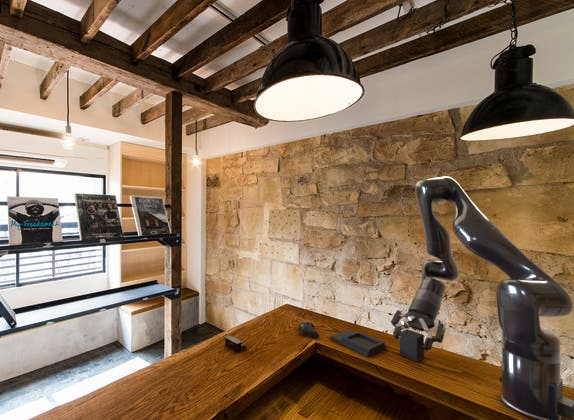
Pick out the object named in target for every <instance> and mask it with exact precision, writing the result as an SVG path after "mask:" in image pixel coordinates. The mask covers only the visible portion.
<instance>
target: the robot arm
mask: <svg viewBox="0 0 574 420" xmlns="http://www.w3.org/2000/svg"><path fill="white" fill-rule="evenodd" d="M414 195H415V200H416V203H417V208H418V212H419V214H420V218H421V222H422V225H423V230H424V237H425V238H424V239H425V250H426V254H427V255H428V256H431V257H434V258H437V259H439V260H437V259H426V260H424V261H423V262H422V264H421V281H420V284H419V286H418V289H417V291H416V293H415V294H414V296H413V298H412V301H411V303H410V305H409V307H408V310H407V312H406V313H404V312H402V311H401V310H400V309H398V310H396V311H395V313H394V315H393V316H392V318H391V320H390V323H391V325H392V326H393V327H394V330H393V332H392V335H393V338H394V339H395V340H400V332H401V331H404V330H406V329H409V328H411V329H413V330H417V331H418V332H421V333H422V332H425V334H426V336H427V337H425V339H424V345H423V348H424V351H425V352H428V351H431V350H432V348H433V344H434V343H438V344H442V343H443V340H444V337H445V333H446V327H445V325H444V324H443V323H442V322H436V319H437V317H438V313H439V311H440V310H441V306H442V302H443V298H444V296H445V293H446V290H447V287H446V284H445V283H443V282H442V281H448V282H454V281H456V280H458V279H459V277H460V269H459V266H458V264H457V262H456V260H455V258H454V255H453V253H452V243H451V241H452V240H451V234H450V231H448V229H447V227H446V226H445V225H444V224H443V223H442V222H441V220H439V218H438V217H437V216H436V214H435V212H434V210H433V204H438V203H444V202H445V203H447V204H449V205H450V206H451V208H452V209H453V210H454V215H453V220H452V231H453V234H454V235H455V236H456V238H457V239H458V241H460V243H461V244H462V245H463V246H464V247H465V248H466V249H467V250H468V251H469V252H471V253H472V254H474V255H475V256H477V257H478V258H480V259H482V260H483V261H486V262H487V263H489V264H491V265H492V266H494V267H495V268H498V269H499V270H500V271H502V272H503V273H504V274H505V275H507V277H508V278H505V279H503V280H501V281H500V282H498V284H497V286H496V291H495V302H496V303H495V304H496V317H497V321H498V325H499V327H500V329H501V377H499V383H501V394H500V396H501V397H500V399H501V402H503V403H504V405H506V406H507V407H509V408H510V409H512V410H513V411H515V412H516V413H518V414H520V415H523V416H524V417H528V418H530V419H532V420H562V419H563V418H565V419H567V420H573V419H574V399H571V398H568V397H566V396H563V395H564V386H563V385H564V379H563V378H562V377H561V339H560V338H559V337H558V336H557V335H556V334H554V333H552V332H550V331H547V330H545V329H542V327H541V320H540V318H561V317H566V316H569V315H570V314H571V313H572V312H573V309H574V302H573V299H572V297H571V296H570V294H569V293H568V291H567V290H566V289H565V288H564V287H563V286H562V285H561V284H560V283H559V282H557V280H555V279H554V278H553V277H551V276H550V275H549V274H548V273H546V272H545V271H544V269H542V268H541V267H539V265H537V264H536V263H535V262H533V261H532V260H531V259H530V258H529V257H527V256H526V254H525V253H523V252H522V251H521V249H519V248H518V246H516V245H515V243H514V242H512V241H511V240H510V239H509V238H508V237H507V236H506V235H505V233H504V232H503V231H502V230H501V229H500V228H499V227H498V226H497V225H495V224H494V222H493V221H491V219H490V218H488V217H487V216H486V214H484V213H483V211H482V210H480V208H479V207H477V205H476V204H475V203H474V202H473V201H472V200H471V198H470V197H469V196H468V194H467V193H466V192H465V190H464V189H463V188H462V187H461V185H460V184H459V182H458V181H456V179H454V178H453V177H451V176H439V177H437V176H436V177H431V178H427V179H426V178H425V179H421V180H419V181H417V182H416V183H415V186H414ZM441 280H442V281H441ZM403 318H404V319H403ZM401 319H402V320H401ZM433 328H435V329H436V332H435V335H432V332H431V330H430V329H433Z"/></svg>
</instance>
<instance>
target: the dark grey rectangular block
mask: <svg viewBox="0 0 574 420" xmlns="http://www.w3.org/2000/svg"><path fill="white" fill-rule="evenodd" d="M424 342H425V335H424V334H422V333H420V332H417V331H414V330H410V329H409V328H407V329H406V328H405V329H403V330H401V332H400V336H399V355H400V356H402V357H404V358H407V359H409V360H411V361H414V362H416V363H418V362H419V361H421V360H423V359H424V358H425V350H424V348H423V345H424Z"/></svg>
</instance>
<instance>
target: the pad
mask: <svg viewBox="0 0 574 420" xmlns="http://www.w3.org/2000/svg"><path fill="white" fill-rule="evenodd" d="M330 340H331V341H334V342H335V343H337V344H340V345H342V346H344V347H346V348H347V349H350V350H352V351H355V352H356V353H359V354H360V355H363V356H365V357H367V358H369V357H371V356H373V355H375V354H377V353H379V352H381V351H383V350H386V349H387V344H386V342H385V341H382V340H379V339H378V338H375V337H372V336H369V335H368V334H365V333H363V332H361V331H358V330H357V331H353V330H351V329H346V330H343V331H342V332H338V333H335V334H333V335H331V336H330Z"/></svg>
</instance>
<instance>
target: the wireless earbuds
mask: <svg viewBox="0 0 574 420" xmlns="http://www.w3.org/2000/svg"><path fill="white" fill-rule="evenodd" d="M224 346H225V347H227V348H228V349H230V350H233V351H234V352H236V353H238V352H240V351H242V349H243V350H245V349H248V346H246V345H245V344H244V343H243V341H242V340H240V339H239V338H237V337H234V336H233V335H229V334H228V335H226V336H224Z"/></svg>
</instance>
